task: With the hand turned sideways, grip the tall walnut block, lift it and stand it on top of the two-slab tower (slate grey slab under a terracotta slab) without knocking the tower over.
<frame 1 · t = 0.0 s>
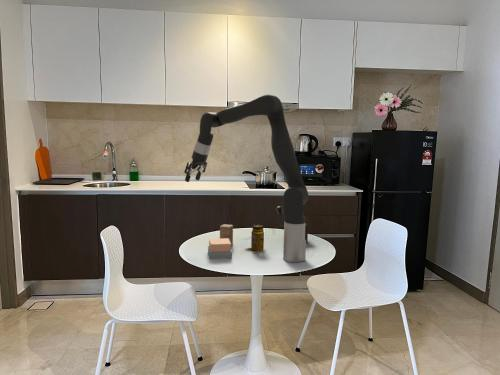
hand: (192, 180, 195), 31 cm above the table, tool tilted 20°, fingers open, 8 cm apart
condiment: (255, 250, 185), on the table
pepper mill: (290, 240, 203), on the table
tower bottom: (219, 255, 177), on the table, touching tower top
tall block: (226, 245, 192), on the table
tower top: (219, 248, 176), point 3 cm above the table, touching tower bottom
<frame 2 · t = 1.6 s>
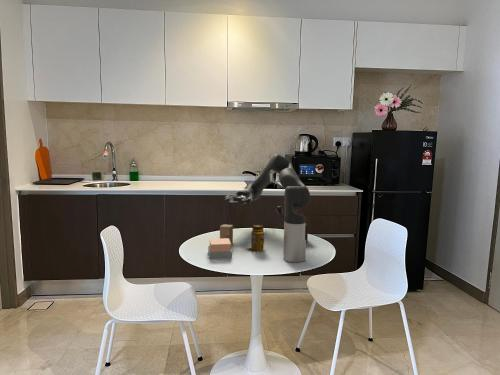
hand: (233, 201, 200), 20 cm above the table, tool horizontal, fingers open, 8 cm apart
nothing on the table moved.
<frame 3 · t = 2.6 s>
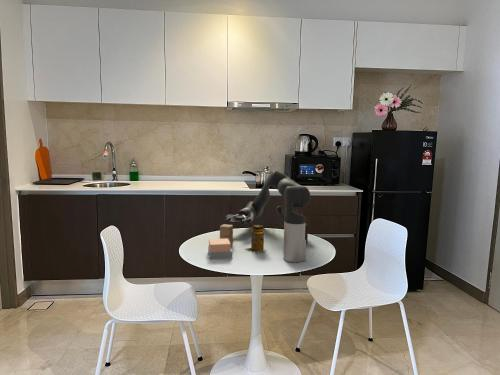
hand: (234, 221, 202), 9 cm above the table, tool horizontal, fingers open, 8 cm apart
nothing on the table moved.
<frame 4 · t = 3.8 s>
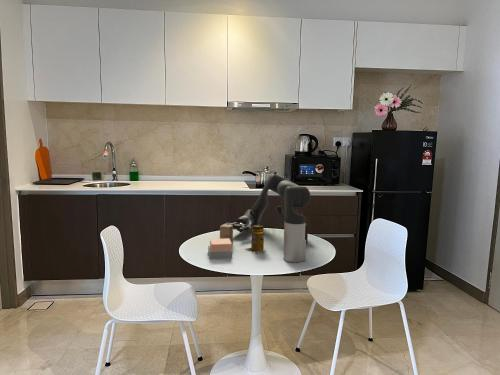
hand: (232, 229, 199), 6 cm above the table, tool horizontal, fingers open, 8 cm apart
nothing on the table moved.
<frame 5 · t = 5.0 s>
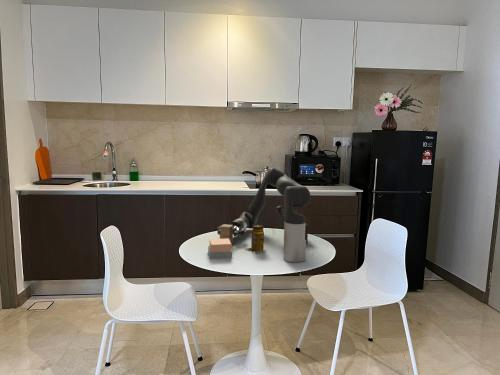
hand: (226, 233, 191), 6 cm above the table, tool horizontal, fingers open, 8 cm apart
nothing on the table moved.
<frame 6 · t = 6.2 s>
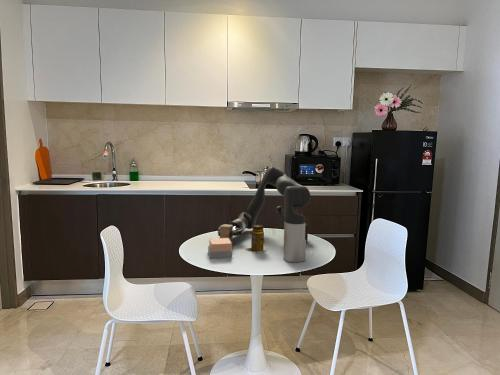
hand: (224, 234, 189), 6 cm above the table, tool horizontal, fingers closed on tall block, 5 cm apart
tower bottom: (219, 255, 177), on the table
tall block: (226, 245, 192), on the table, touching gripper
tower top: (220, 248, 177), point 3 cm above the table
everything else where it was.
when the fingers open (14 cm above the table, at t = 10.4 s): tall block drops 2 cm, resting on tower top.
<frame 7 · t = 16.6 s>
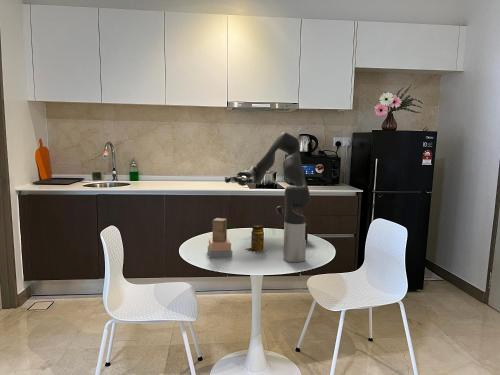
hand: (234, 181, 191), 32 cm above the table, tool horizontal, fingers open, 8 cm apart
tall block: (219, 240, 177), point 6 cm above the table, touching tower top
tower top: (219, 248, 178), point 3 cm above the table, touching tall block
everything else where it was.
at the end: tall block 0.2 cm off-centre on the tower top, point 3.5 cm above the tower top's base; tall block tilted 0°; tower top moved 1.3 cm from its start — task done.
